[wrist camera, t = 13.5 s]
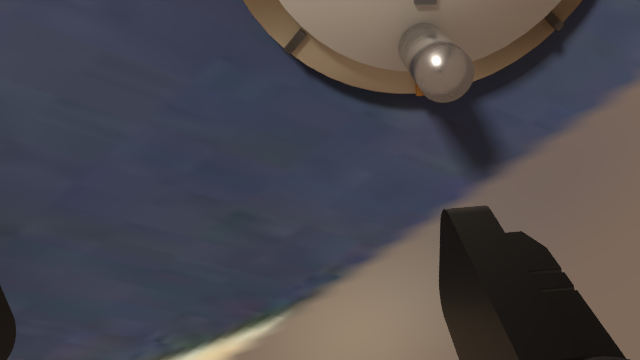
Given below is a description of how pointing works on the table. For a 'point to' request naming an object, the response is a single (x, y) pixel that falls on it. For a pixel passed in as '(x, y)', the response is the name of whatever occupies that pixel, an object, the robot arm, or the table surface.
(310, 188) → the table surface
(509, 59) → the dial base
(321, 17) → the dial
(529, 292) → the robot arm
